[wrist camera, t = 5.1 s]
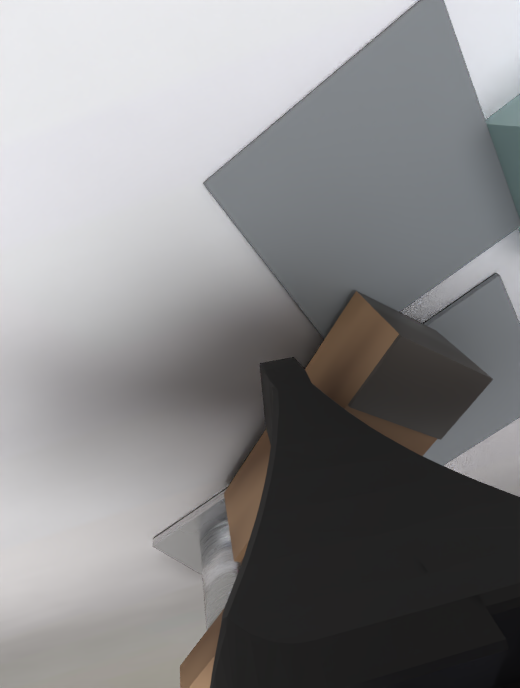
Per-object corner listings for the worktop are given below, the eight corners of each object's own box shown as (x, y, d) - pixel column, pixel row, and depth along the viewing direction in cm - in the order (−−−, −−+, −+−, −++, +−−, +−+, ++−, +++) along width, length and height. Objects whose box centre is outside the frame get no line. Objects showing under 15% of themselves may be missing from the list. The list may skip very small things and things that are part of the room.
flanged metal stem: (305, 528, 16) (333, 614, 14) (223, 580, 17) (235, 672, 14) (242, 477, 14) (261, 567, 12) (152, 538, 15) (150, 637, 12)
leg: (244, 581, 17) (264, 699, 13) (172, 571, 15) (174, 697, 12) (436, 330, 12) (533, 413, 9) (355, 290, 11) (434, 369, 8)
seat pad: (517, 223, 12) (521, 225, 11) (335, 353, 12) (337, 356, 12) (434, -13, 8) (438, -15, 8) (203, 182, 9) (203, 184, 9)
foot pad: (547, 395, 15) (550, 398, 15) (404, 485, 16) (406, 488, 16) (496, 273, 12) (499, 275, 12) (324, 392, 13) (326, 395, 13)
